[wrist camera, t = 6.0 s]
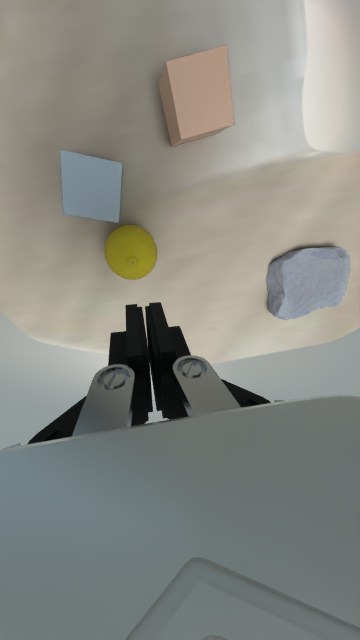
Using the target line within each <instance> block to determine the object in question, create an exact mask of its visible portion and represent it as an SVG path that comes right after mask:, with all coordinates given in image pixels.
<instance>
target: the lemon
mask: <svg viewBox="0 0 360 640" xmlns="http://www.w3.org/2000/svg"><path fill="white" fill-rule="evenodd" d="M105 258H106V260H107V263H108V265H109V266H110V268H111V269H112V270H113V271H114V272H115V273H116V274H117V275H119V276H121V277H123V278H125V279H131V280H135V279H140V278H142V277H144V276H146V275H147V274H148V273H150V272H151V270H152V269H153V267H154V266H155V263H156V260H157V248H156V244H155V242H154V239H153V238H152V237H151V235H150V234H149V233H148V232H147V231H146V230H145V229H143V228H141V227H139V226H135V225H123V226H120V227H118V228H116V229H115V230H114V231H112V232H111V234H110V235H109V236H108V238H107V241H106V243H105Z"/></svg>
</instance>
